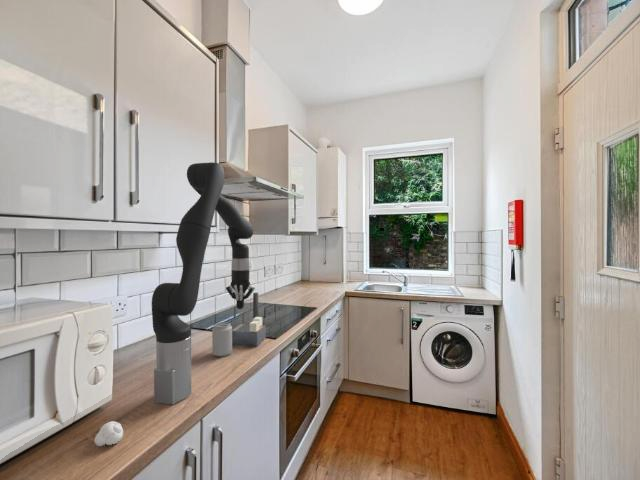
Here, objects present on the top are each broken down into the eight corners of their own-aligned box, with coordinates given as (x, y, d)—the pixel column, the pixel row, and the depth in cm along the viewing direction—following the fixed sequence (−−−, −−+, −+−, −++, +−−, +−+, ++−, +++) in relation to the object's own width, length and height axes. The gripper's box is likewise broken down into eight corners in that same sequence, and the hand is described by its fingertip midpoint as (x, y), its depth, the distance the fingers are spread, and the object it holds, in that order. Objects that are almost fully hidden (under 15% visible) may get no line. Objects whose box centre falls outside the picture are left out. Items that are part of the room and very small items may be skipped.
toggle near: (256, 331, 123) (256, 323, 123) (249, 331, 123) (249, 323, 123) (259, 329, 126) (259, 321, 126) (252, 328, 127) (252, 320, 127)
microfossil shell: (124, 422, 66) (118, 413, 70) (95, 434, 63) (91, 425, 67) (125, 441, 66) (120, 432, 70) (96, 455, 63) (92, 444, 66)
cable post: (258, 337, 134) (258, 294, 133) (249, 336, 135) (249, 293, 134) (262, 334, 138) (261, 292, 138) (253, 333, 139) (253, 291, 138)
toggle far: (259, 327, 129) (259, 319, 129) (253, 326, 129) (253, 319, 129) (262, 324, 132) (262, 317, 132) (256, 324, 133) (256, 316, 133)
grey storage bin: (257, 346, 123) (257, 332, 122) (230, 344, 125) (230, 330, 124) (265, 338, 132) (265, 325, 132) (241, 336, 134) (241, 323, 134)
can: (226, 358, 111) (226, 327, 111) (208, 356, 113) (208, 326, 112) (235, 350, 119) (235, 321, 118) (218, 349, 120) (218, 320, 120)
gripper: (221, 269, 123) (221, 310, 123) (251, 270, 121) (251, 311, 121) (230, 267, 130) (230, 306, 130) (258, 268, 128) (258, 307, 128)
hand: (240, 308), depth 126 cm, fingers closed
